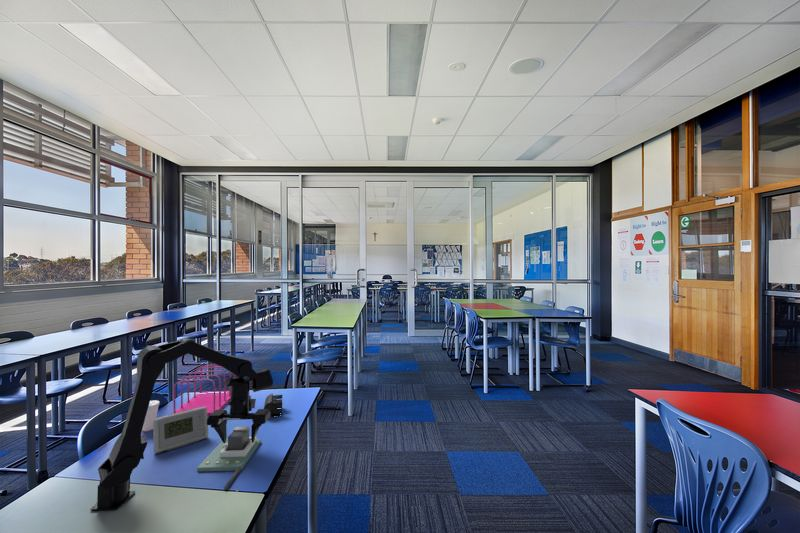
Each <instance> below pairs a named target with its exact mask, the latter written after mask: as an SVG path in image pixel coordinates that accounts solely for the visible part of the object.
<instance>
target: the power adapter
mask: <svg viewBox="0 0 800 533" xmlns="http://www.w3.org/2000/svg"><path fill="white" fill-rule="evenodd" d="M277 408H282V409H277ZM263 409H269V410H270V417H273V418H275V417H274V416H280V415H282V416H283V394H276V395H275V394H274V393H270V394H268V395H267V396H266V398H265V401H264V406H263ZM280 413H281V414H280ZM270 417H269V418H270ZM280 417H281V416H280Z"/></svg>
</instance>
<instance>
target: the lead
mask: <svg viewBox="0 0 800 533" xmlns="http://www.w3.org/2000/svg"><path fill="white" fill-rule="evenodd" d="M241 471H242V470H241V467H238V469H237V470H234V473H233V474H232V475H231V476H230V478H229V480H228V481H227V482H226V484H225V485H224V487H223V489H224V490H227V489H228V488H229V487H230V486H231V485H232V483H233V482H234V480H235V479H236V477H237V476H238V475H239V473H240V472H241Z"/></svg>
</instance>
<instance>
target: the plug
mask: <svg viewBox="0 0 800 533" xmlns="http://www.w3.org/2000/svg"><path fill="white" fill-rule="evenodd" d="M249 437H250V426H236V427H234V428H233V430H232V432H231V433H230V434H229V435H228V436H227V440H228V451H230V450H244V449H245V447H246V446H247V445H248V443H249Z"/></svg>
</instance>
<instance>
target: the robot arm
mask: <svg viewBox="0 0 800 533" xmlns="http://www.w3.org/2000/svg"><path fill="white" fill-rule="evenodd" d="M187 355H190V356H194V357H196V358H199V359H200V360H201V359H202V360H204V361H206V362H209V363H211V364H213V365H219V366H218V367H223V368H222V369H225V370H226V371H228V372H229V373H230V372H231V375H232V374H233V376H234V375H235V378H234V377H232V376H231V377H230V376H229V377H228V378H227V379H225V382H224V381H223V385H224V384H225V385H226V387H229V386H231V390H230V401H229V402H228V404H227V405H228V406H229V413H228V410H227V409H222V410H215V411H214V412H213V413H212V414H211V415H209V416H207V417H208V418H207V425H208V426H210V428H211V429H214V430H215V432H216V433H217V435H218V436H219V438H220V440H221V442H222V441H223V443H226V440H228V436H227V435H228V434H227V430H228V429H227V423H228V421H232V420H233V421H234V420H235V421H236V420H240V421H241V420H252V421H251V422H252V424H251V434H250V435H251V436H250V437H251V440H252V443H253V442H254V440H255V437H257V434H258V431H259V429H260V427H261V426H262V425H264V424H266V423H267V422H268V420H269V419H270V410H269V409H264V408H258V409H257V411H255V412H252V411H253V409H256V408H255V407H256V398H252V396H251V395H250V391H252V392H253V393H256V392H261V391H265V390H268V389H271V388H273V385H274V379H273V376H272V374H271V370H270V369H268V368H264V369H262V370H258V371H255V370H254V369H253V363H252V362H251V361H250V360H249V359H246V358H244V357H242V356H237V355H233V354H226V353H222V352H220V351H218V350H215V349H213V348H210V347H208V346H206V345H204V344H203V345H202V344H201V343H198V342H196V341H194V340H193V339H190V338H182V339H180V340H176V341H172V342H167V343H164V344H163V343H162V344H160V345H157V346H156V345H148V346H146V347H143V348H142V349H141V350H140V351H139V352H138V354H137V358H136V360H137V361H136V382H135V386H134V389H133V393H132V396H131V401H130V403H129V406H128V411H127V415H126V418H125V421H124V425H123V428H122V432H121V433H120V435H119V436H118V438H117V439H116V441H115V442H114V444H113V446H112V449H111V450H110V453H109V455H108V457H107V459H105V461H104V462H103V463H101V465H100V466H99V467H98V468H97V472H98V475H99V479H100V481H99V484H98V485H97V493H96V494H97V498H96V499H97V500H96V503H95V504H94V505H93V506H92V507H91V508H90V512H93V511H95V512H96V511H117V510H118V509H119V508H120V507H122V506H123V504H125V503H126V502H127V501H128V500H129V499H130V498H132V496H134V495H135V494H136V491H135V490H130V489H131V476H132V473H133V472H134V469H136V468H137V467H138V466H139V465H140V463H141V460H144V459H145V456H144V453H145V451H146V448H147V446H148V442H147V440H146V438H145V436H144V435H142V432H143V430H142V429H143V425H144V421H145V417H146V414H147V410H148V406H149V403H150V401H151V399H152V395H153V391H154V388H155V384H156V382H157V379H158V378H159V376H161V374H162V372H163V371H164V368H165V366H166V364H168V363H171V362H173V361H175V360H177V359H180V358H181V357H183V356H187Z"/></svg>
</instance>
